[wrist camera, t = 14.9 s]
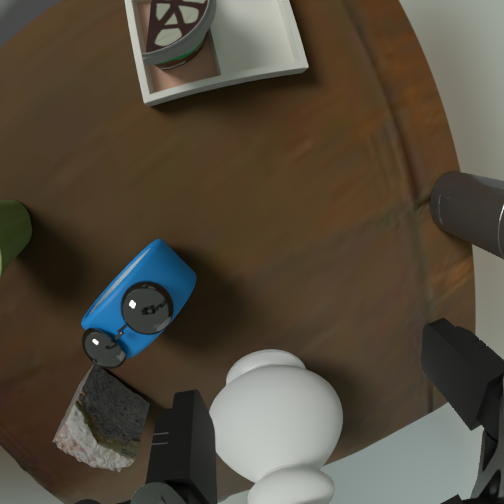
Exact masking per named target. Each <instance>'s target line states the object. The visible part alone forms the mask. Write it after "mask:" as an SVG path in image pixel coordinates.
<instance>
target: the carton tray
mask: <svg viewBox="0 0 504 504" xmlns="http://www.w3.org/2000/svg"><path fill="white" fill-rule="evenodd" d="M125 5H126V12H127V18H128V24H129V29H130V35H131V41H132V46H133V51H134V57H135V62H136V67H137V72H138V77H139V81H140V86H141V91H142V95H143V100H144V103H145V104H146V105H148V106H150V107H151V106H154V105H157V104H161V103H164V102H167V101H171V100H174V99H178V98H181V97H185V96H189V95H192V94H196V93H200V92H204V91H208V90H212V89H217V88H221V87H226V86H230V85H235V84H240V83H245V82H250V81H255V80H260V79H266V78H272V77H278V76H285V75H292V74H299V73H303V72H304V71H305V70H306V69H307V68H308V63H307V59H306V56H305V52H304V48H303V45H302V41H301V38H300V34H299V31H298V28H297V24H296V21H295V18H294V15H293V11H292V8H291V5H290V2H289V0H216V12H215V17H214V19H213V22H212V24H211V26H210V28H209V29H208V31H207V36H206V41H205V43H204V46H203V48H202V49H201V50H200V52H199V53H198V54H197V55H196V56H195V57H194V58H193V59H192V60H190V61H189V62H187V63H186V64H184V65H182V66H179V67H177V68H174V69H170V70H163V71H162V70H161V69H159V68H158V67H157V66H155V65H154V64H153V65H147V66H146V64H145V62H144V60H143V56H142V54H143V53H146V44H147V35H148V26H149V17H150V7H151V0H125Z"/></svg>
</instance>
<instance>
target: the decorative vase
mask: <svg viewBox="0 0 504 504" xmlns="http://www.w3.org/2000/svg"><path fill="white" fill-rule="evenodd" d="M209 414H210V416H211V418H212V421H213V424H214V429H215V446H216V452H217V453H218V455H219V456H220V457H221V458H222V460H223V461H224V462H225V463H226V464H227V465H228V466H230V467H231V468H232V469H233V470H234V471H236V472H237V473H239V474H240V475H242V476H243V477H245V478H247V479H249V480H250V481H252V482H255V483H256V484H255V485H254V486H253V487H252V488H251V490H250V492H249V494H248V504H328V503H329V502H330V501H331V499H332V497H333V495H334V491H335V487H334V482H333V480H332V479H331V478H330V477H329V476H328V475H327V474H325V473H323V472H321V471H319V470H320V468H321V467H322V466H323V465H324V464H325V462H326V461H327V460H328V458H329V457H330V455H331V454H332V452H333V450H334V448H335V446H336V444H337V442H338V439H339V437H340V434H341V430H342V425H343V411H342V406H341V402H340V400H339V397H338V395H337V393H336V391H335V390H334V388H333V387H332V386H331V385H330V384H329V383H328V382H327V381H326V380H325V379H324V378H322V377H321V376H319V375H318V374H316V373H314V372H311V371H309V370H306V367H305V365H304V364H303V362H302V361H301V360H300V359H299V358H298V357H297V356H295V355H293V354H291V353H289V352H286V351H282V350H275V349H268V350H261V351H257V352H253V353H251V354H248V355H246V356H244V357H243V358H241V359H240V360H238V361H237V362H236V363H235V364H234V365H233V366H232V368H231V369H230V371H229V373H228V375H227V379H226V386H225V387H224V388H223V389H222V390H221V391H220V393H219V394H218V395H217V397H216V398H215V400H214V401H213V403H212V406H211V408H210V411H209Z"/></svg>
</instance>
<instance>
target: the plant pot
mask: <svg viewBox="0 0 504 504" xmlns="http://www.w3.org/2000/svg"><path fill="white" fill-rule="evenodd" d="M31 235H32V226H31V221H30V215H29V213H28V211H27V210H26V208H25V207H24V206H23V205H22V204H21V203H19V202H18V201H15V200H2V201H0V278H1V276H2V274H3V273H4V271H5V269H6V268H7V266H8V265H9V264H10V263H11V262H12V261H13V260H14V258H15V257H16V256H17V255H18V254H19V253H20V252H21V251H22V250H23V249H24V247H25V246H26V245H27V244H28V243H29V241H30V238H31Z"/></svg>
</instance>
